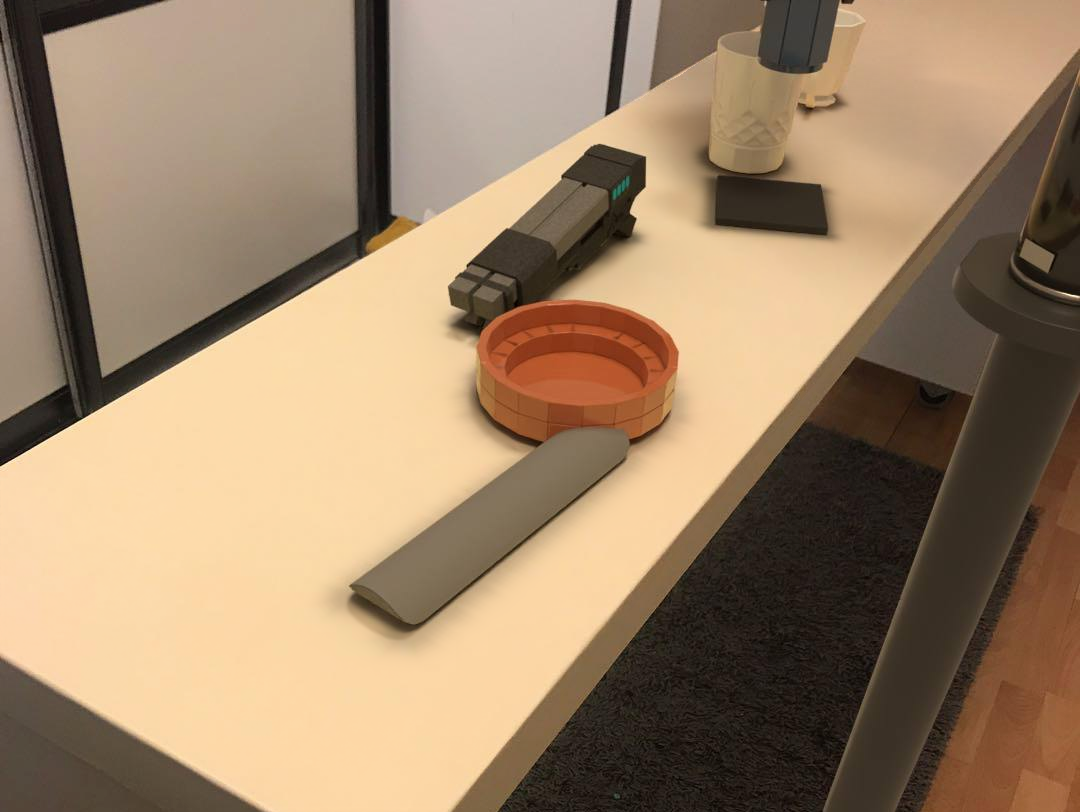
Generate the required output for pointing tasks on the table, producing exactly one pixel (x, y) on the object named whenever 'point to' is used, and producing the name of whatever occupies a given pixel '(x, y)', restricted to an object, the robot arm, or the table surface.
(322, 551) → the table surface
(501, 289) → the gun
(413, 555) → the gray half cylinder
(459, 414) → the table surface
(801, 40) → the octagonal grey canister
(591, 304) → the big bowl
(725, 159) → the white cup
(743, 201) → the mat
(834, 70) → the cup
